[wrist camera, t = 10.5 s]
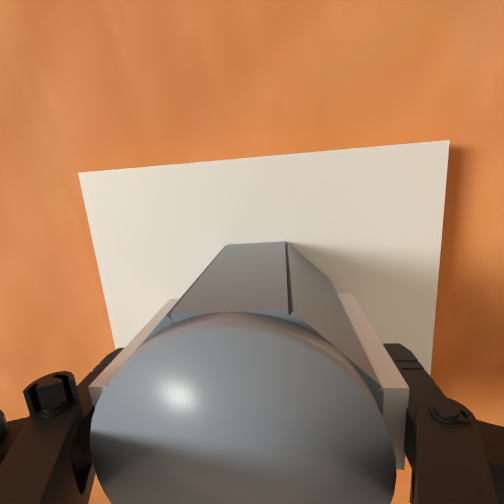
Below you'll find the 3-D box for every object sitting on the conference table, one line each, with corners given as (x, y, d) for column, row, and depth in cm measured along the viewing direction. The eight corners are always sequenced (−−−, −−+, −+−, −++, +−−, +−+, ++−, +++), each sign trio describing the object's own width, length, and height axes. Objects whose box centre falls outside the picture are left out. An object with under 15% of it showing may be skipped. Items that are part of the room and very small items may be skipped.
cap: (202, 370, 17) (120, 567, 8) (185, 246, 15) (59, 335, 7) (332, 370, 16) (390, 588, 8) (331, 238, 14) (404, 328, 6)
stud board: (143, 409, 20) (65, 537, 13) (95, 173, 16) (-51, 169, 9) (414, 412, 18) (502, 568, 11) (432, 143, 14) (586, 108, 7)
